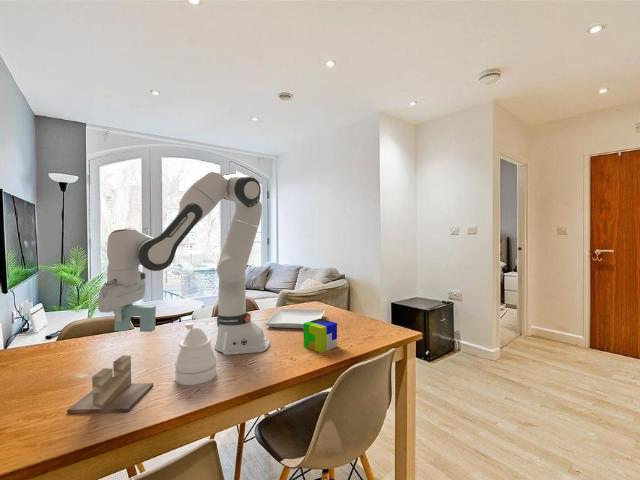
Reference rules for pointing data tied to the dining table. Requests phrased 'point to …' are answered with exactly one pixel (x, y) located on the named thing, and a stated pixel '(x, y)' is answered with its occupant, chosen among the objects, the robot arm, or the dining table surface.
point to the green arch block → (144, 312)
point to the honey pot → (195, 358)
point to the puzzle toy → (320, 335)
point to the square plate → (293, 318)
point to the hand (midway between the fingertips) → (123, 319)
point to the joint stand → (112, 390)
